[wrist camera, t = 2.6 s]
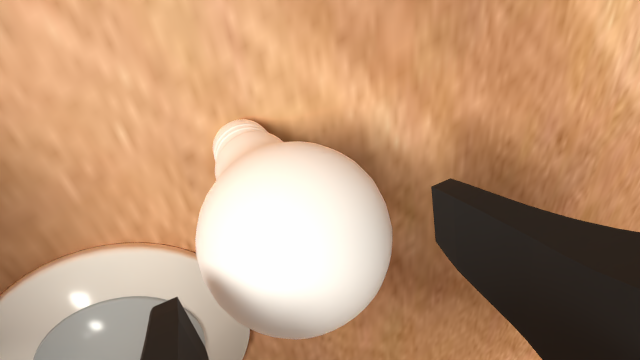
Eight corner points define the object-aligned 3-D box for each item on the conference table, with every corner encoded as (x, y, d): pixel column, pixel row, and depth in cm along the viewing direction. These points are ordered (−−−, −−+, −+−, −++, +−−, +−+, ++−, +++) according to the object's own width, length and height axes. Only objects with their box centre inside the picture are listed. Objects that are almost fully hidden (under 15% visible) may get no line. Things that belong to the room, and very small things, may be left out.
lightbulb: (244, 216, 23) (331, 404, 15) (136, 154, 20) (164, 353, 11) (325, 124, 23) (467, 262, 14) (227, 42, 19) (336, 157, 10)
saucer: (58, 465, 27) (57, 485, 26) (-101, 319, 19) (-111, 339, 18) (271, 363, 29) (276, 377, 28) (202, 202, 22) (206, 214, 21)
